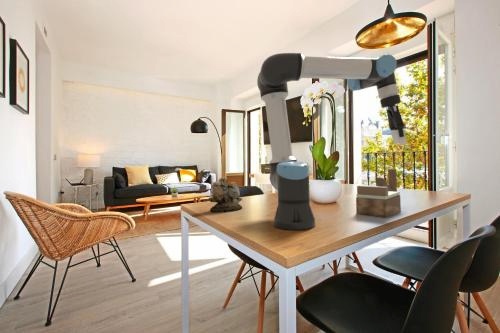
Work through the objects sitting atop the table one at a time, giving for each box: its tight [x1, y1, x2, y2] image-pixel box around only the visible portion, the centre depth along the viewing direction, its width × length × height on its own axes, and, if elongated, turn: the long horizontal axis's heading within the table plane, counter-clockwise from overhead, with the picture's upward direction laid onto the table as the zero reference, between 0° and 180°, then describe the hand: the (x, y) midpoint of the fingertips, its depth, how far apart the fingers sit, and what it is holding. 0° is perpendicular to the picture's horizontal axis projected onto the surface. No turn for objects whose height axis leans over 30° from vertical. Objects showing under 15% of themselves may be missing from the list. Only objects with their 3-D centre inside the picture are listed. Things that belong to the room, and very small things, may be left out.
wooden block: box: [376, 168, 398, 192], centre depth 123 cm, size 4×11×18 cm, turn 114°
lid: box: [355, 185, 401, 200], centre depth 110 cm, size 12×17×5 cm
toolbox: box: [355, 194, 402, 218], centre depth 110 cm, size 12×17×7 cm
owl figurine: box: [208, 176, 243, 214], centre depth 129 cm, size 18×12×17 cm, turn 122°
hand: (400, 144), depth 111 cm, fingers open, 13 cm apart
